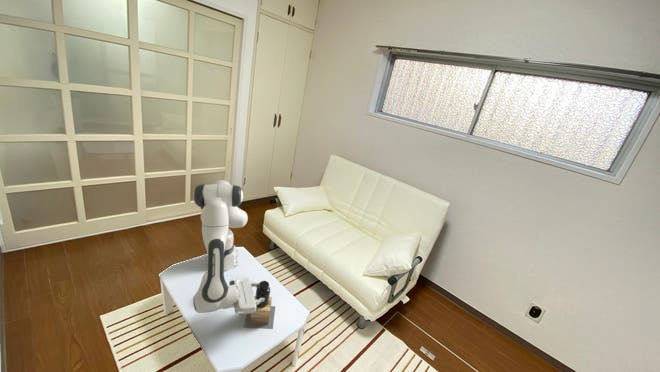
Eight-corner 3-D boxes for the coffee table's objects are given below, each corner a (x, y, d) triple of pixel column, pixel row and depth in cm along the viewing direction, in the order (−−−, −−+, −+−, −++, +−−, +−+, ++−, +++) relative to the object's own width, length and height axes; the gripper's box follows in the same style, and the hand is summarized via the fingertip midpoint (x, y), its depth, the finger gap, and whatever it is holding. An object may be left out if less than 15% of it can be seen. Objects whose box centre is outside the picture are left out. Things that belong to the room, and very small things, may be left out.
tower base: (253, 308, 140) (253, 302, 138) (270, 309, 141) (271, 303, 140) (249, 323, 132) (250, 316, 130) (268, 324, 133) (269, 317, 131)
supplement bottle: (255, 309, 129) (257, 290, 125) (253, 298, 135) (255, 280, 131) (269, 306, 132) (272, 288, 128) (267, 296, 138) (269, 278, 133)
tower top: (253, 302, 138) (254, 295, 137) (271, 303, 140) (272, 296, 138) (250, 316, 130) (251, 309, 128) (269, 317, 131) (270, 311, 130)
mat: (249, 305, 142) (249, 304, 142) (275, 306, 144) (275, 306, 144) (243, 328, 129) (243, 327, 129) (272, 329, 131) (272, 328, 131)
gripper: (235, 309, 114) (267, 302, 121) (230, 277, 131) (258, 272, 137) (235, 320, 116) (266, 313, 123) (229, 287, 133) (257, 282, 139)
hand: (262, 291), depth 130 cm, fingers open, 8 cm apart
